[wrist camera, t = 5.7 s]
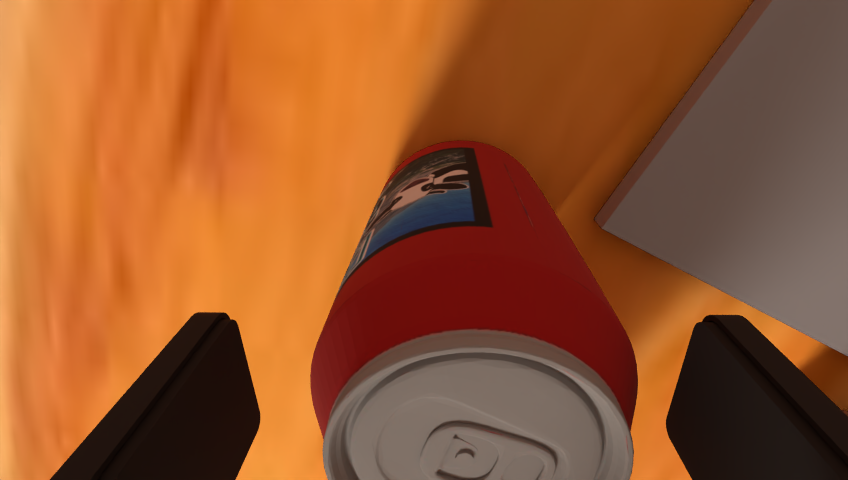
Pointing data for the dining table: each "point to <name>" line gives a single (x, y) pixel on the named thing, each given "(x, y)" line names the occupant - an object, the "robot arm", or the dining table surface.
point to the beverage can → (471, 337)
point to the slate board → (756, 171)
